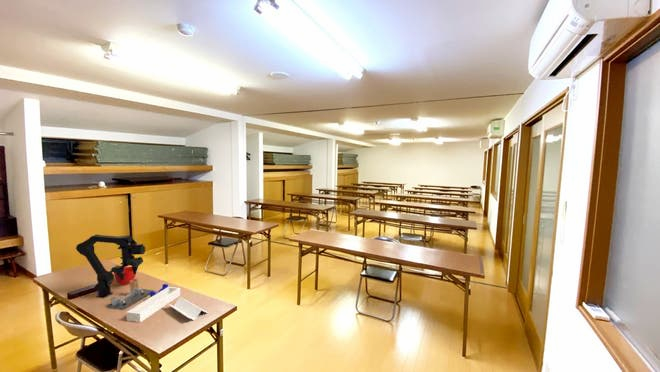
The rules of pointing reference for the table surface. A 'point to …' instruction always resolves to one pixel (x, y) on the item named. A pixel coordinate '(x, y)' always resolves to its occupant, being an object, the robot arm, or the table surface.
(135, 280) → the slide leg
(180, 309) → the z bracket
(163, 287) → the cable clip
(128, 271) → the ceramic cup
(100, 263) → the robot arm
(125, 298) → the plate
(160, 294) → the block frame
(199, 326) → the table surface
